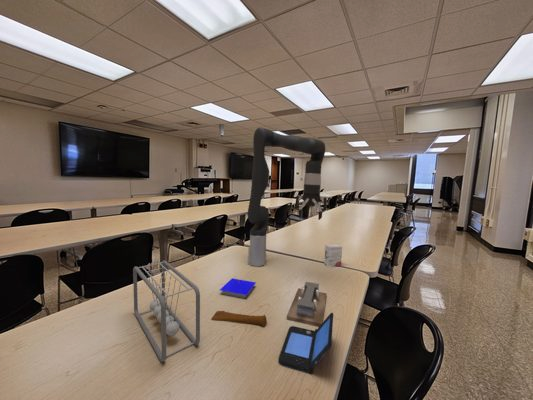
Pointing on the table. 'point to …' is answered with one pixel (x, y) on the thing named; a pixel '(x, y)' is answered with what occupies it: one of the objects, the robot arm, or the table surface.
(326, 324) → the handheld game console
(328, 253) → the ink box
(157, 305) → the newton's cradle
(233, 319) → the primitive tool
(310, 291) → the grey stepped block
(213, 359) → the table surface
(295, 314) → the tool cradle
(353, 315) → the table surface
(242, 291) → the blue square pad
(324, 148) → the robot arm
